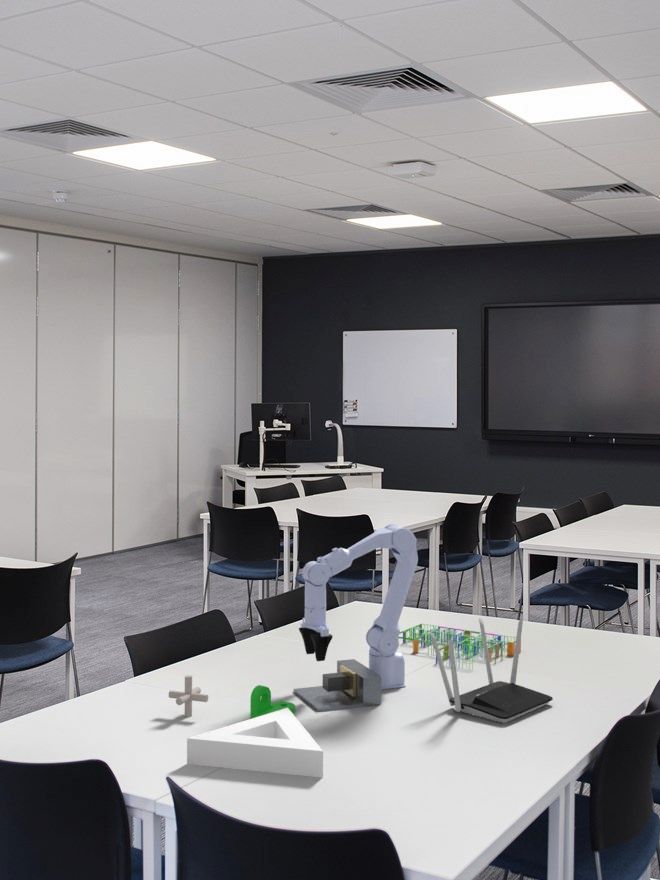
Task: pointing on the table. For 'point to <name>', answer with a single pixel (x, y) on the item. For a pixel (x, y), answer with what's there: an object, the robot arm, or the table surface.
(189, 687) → the pipe connector
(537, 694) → the wireless router
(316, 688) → the block
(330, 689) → the grey and tan block
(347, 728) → the table surface
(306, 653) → the robot arm
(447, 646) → the piping system model
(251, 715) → the mechanical part
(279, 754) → the triangle block
